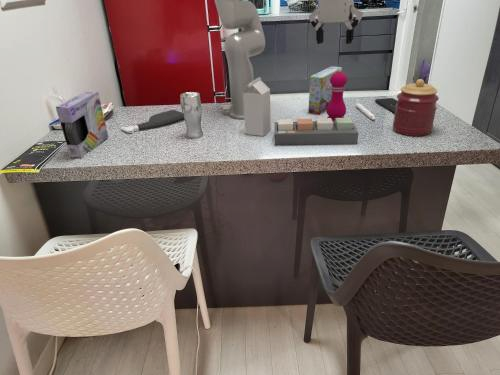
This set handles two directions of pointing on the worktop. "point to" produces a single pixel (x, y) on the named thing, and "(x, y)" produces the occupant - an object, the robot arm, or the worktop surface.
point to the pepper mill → (337, 95)
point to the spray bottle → (157, 121)
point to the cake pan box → (82, 123)
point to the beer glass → (192, 113)
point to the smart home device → (387, 104)
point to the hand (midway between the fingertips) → (334, 43)
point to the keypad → (315, 136)
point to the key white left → (285, 124)
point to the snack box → (320, 90)
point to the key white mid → (324, 124)
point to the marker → (365, 111)
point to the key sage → (343, 124)
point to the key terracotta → (304, 124)
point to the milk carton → (257, 108)
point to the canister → (415, 109)
